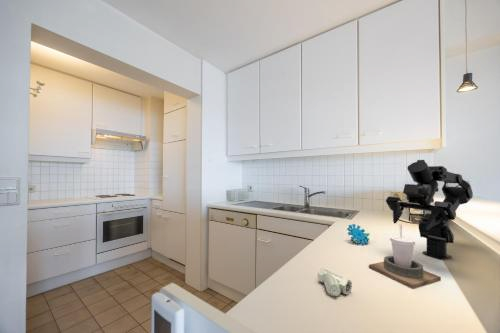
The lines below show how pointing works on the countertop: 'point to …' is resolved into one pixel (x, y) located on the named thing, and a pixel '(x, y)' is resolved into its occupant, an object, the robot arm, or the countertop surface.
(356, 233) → the gear
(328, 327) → the countertop surface
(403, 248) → the smoothie
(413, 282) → the collar stand
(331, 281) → the pipe fitting
